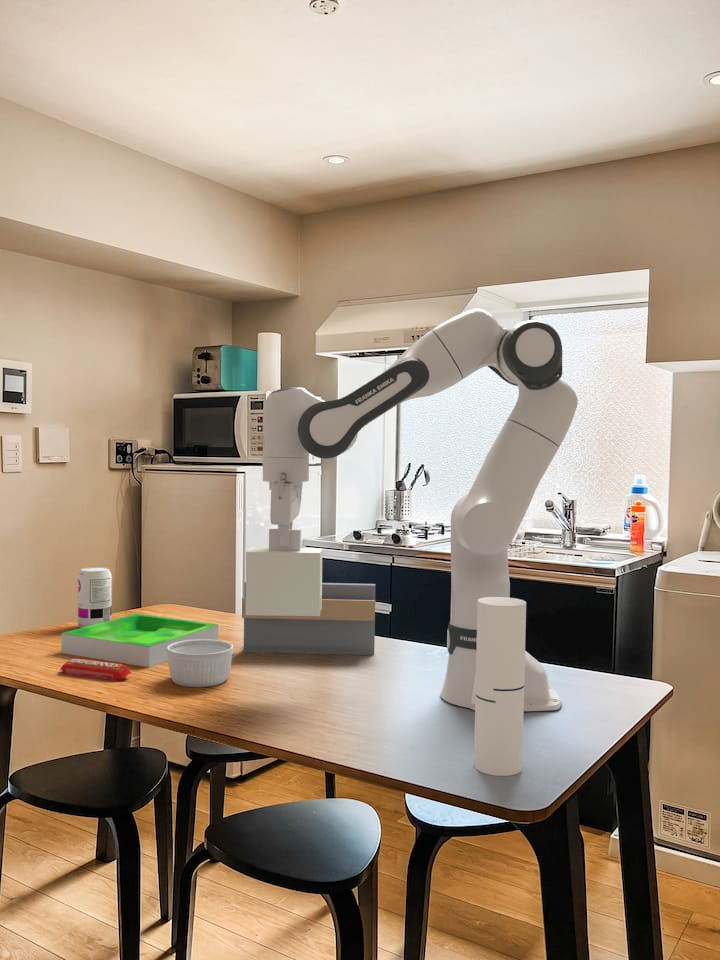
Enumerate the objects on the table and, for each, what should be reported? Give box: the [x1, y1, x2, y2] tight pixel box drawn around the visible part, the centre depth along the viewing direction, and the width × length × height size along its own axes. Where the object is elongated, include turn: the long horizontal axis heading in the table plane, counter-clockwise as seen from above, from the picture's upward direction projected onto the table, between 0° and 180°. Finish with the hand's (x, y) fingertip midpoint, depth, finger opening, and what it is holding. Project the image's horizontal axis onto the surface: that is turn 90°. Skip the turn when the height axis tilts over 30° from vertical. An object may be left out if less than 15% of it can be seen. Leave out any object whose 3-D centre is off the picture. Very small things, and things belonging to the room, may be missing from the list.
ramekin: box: [167, 639, 234, 688], centre depth 168 cm, size 13×13×7 cm
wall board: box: [241, 581, 376, 656], centre depth 192 cm, size 30×9×16 cm, turn 89°
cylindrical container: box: [473, 597, 527, 777], centre depth 124 cm, size 7×7×25 cm
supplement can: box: [77, 566, 113, 629], centre depth 214 cm, size 8×8×15 cm
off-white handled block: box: [245, 528, 323, 616], centre depth 160 cm, size 14×7×16 cm, turn 89°
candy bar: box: [59, 658, 132, 682], centre depth 170 cm, size 16×4×3 cm, turn 70°
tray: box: [60, 613, 219, 668], centre depth 193 cm, size 25×25×5 cm
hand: (285, 544), depth 160 cm, fingers closed on off-white handled block
